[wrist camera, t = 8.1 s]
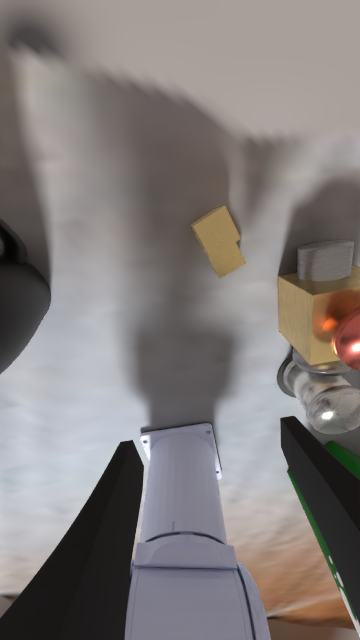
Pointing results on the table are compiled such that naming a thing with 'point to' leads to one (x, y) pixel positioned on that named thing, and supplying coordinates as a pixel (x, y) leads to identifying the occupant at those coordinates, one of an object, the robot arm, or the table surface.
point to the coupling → (324, 399)
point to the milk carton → (356, 467)
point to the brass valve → (322, 308)
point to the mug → (18, 297)
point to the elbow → (219, 240)
